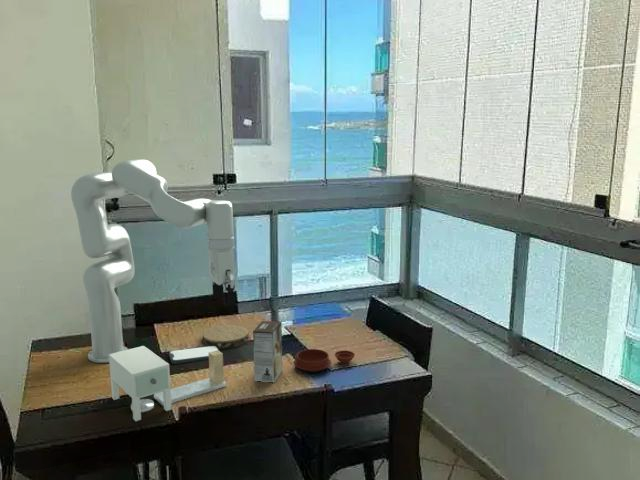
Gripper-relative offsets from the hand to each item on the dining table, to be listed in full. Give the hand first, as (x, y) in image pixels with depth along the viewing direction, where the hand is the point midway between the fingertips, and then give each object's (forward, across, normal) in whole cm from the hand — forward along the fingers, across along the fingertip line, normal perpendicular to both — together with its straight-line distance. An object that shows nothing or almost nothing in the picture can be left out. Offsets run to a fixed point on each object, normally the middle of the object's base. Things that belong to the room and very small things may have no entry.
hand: (223, 300), depth 172 cm
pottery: (+25, +6, +30) cm, 40 cm away
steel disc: (+24, +6, -27) cm, 37 cm away
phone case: (+24, -21, -4) cm, 32 cm away
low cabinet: (+24, +4, -26) cm, 36 cm away
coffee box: (+25, +5, +11) cm, 27 cm away
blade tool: (+24, +4, -12) cm, 28 cm away
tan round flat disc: (+24, -30, +10) cm, 40 cm away
